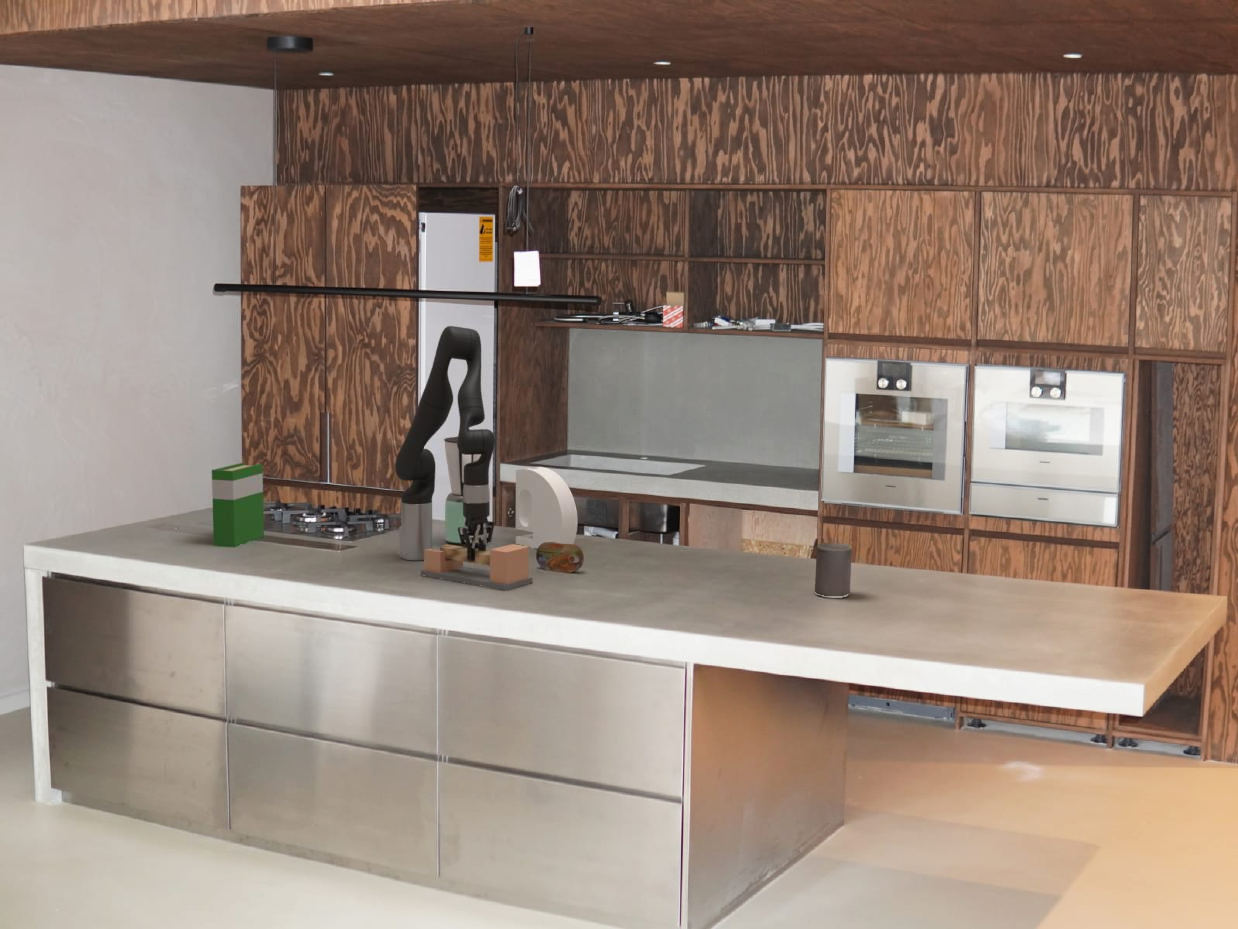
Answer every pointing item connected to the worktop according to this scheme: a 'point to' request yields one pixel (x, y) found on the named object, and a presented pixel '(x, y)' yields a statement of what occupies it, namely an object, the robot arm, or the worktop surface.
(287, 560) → the worktop surface
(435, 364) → the robot arm
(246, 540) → the hardback book
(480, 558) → the slat
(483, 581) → the end cap rail
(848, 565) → the pillar candle
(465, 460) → the blender
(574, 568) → the tin
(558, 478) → the bracket
